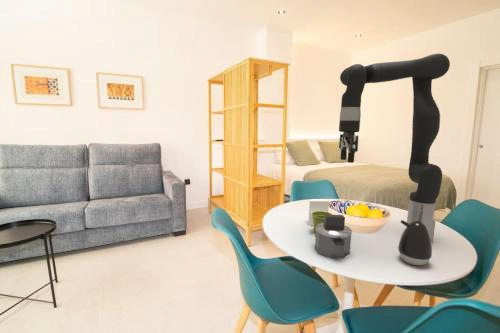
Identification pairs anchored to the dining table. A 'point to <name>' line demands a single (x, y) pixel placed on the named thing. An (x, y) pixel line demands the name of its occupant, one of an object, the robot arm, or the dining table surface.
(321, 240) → the pot
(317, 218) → the plant pot
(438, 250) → the dining table surface
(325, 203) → the white tall block
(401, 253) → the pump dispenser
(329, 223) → the lid
